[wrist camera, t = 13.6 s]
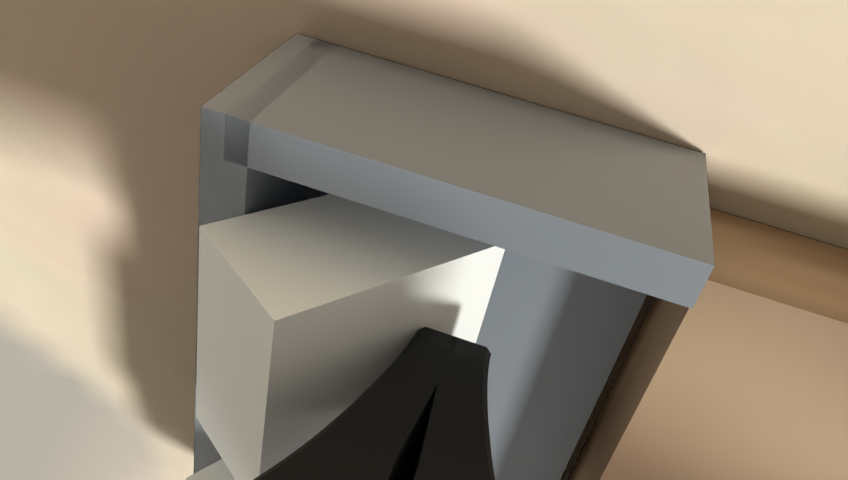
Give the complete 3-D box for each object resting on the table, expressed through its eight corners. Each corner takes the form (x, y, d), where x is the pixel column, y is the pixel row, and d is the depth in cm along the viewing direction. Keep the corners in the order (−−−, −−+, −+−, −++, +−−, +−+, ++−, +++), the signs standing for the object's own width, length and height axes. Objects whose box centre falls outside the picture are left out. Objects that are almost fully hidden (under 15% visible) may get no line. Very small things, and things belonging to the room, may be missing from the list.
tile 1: (256, 513, 13) (195, 416, 14) (453, 415, 16) (387, 341, 17) (274, 321, 11) (199, 225, 12) (507, 241, 13) (423, 171, 14)
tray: (507, 579, 22) (482, 710, 19) (253, 486, 22) (191, 596, 20) (705, 153, 13) (714, 265, 11) (296, 33, 14) (201, 106, 11)
